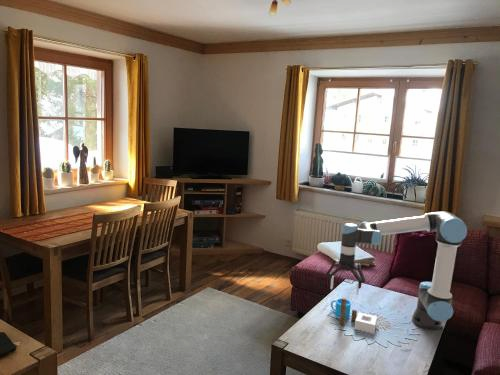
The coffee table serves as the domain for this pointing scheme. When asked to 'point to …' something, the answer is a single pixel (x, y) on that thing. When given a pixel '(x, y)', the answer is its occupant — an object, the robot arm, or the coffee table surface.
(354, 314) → the short dowel
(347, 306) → the mug
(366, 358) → the coffee table surface
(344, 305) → the long dowel
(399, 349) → the coffee table surface
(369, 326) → the hole block
